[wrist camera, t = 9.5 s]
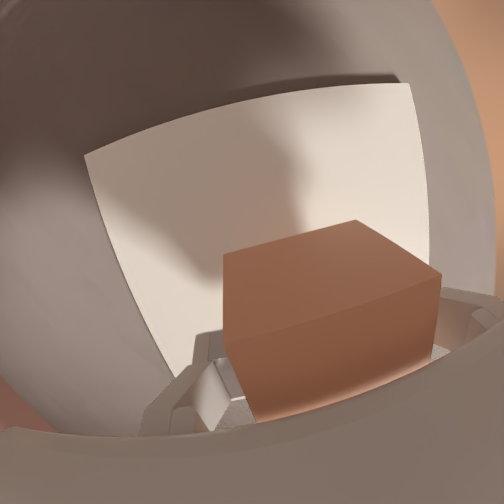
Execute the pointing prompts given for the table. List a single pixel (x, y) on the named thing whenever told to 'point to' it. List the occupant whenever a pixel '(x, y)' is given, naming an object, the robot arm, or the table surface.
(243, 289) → the cube
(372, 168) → the mat
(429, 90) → the table surface
